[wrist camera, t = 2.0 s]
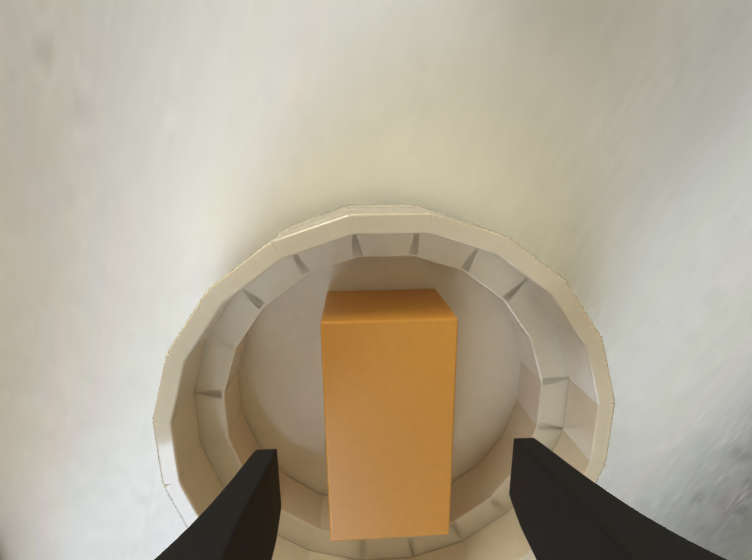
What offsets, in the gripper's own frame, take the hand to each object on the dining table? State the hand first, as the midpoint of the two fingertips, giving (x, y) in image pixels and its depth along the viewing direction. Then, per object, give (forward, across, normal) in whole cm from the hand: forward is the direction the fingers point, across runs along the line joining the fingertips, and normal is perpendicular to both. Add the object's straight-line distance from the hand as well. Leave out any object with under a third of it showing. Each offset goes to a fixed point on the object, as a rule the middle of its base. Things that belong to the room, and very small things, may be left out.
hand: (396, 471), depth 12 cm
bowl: (+6, 0, 0) cm, 6 cm away
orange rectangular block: (+5, 0, 0) cm, 5 cm away
